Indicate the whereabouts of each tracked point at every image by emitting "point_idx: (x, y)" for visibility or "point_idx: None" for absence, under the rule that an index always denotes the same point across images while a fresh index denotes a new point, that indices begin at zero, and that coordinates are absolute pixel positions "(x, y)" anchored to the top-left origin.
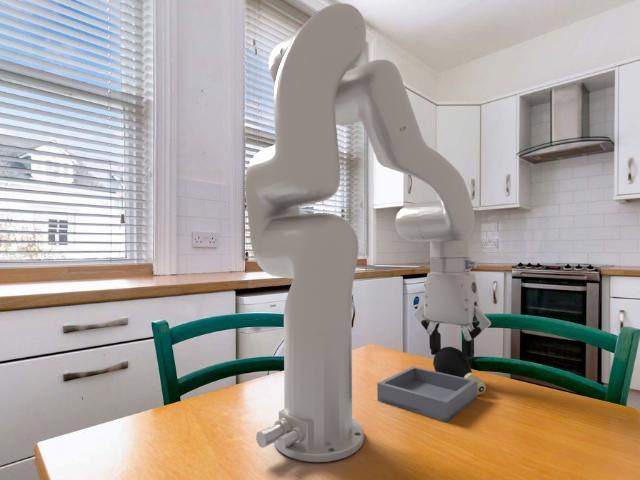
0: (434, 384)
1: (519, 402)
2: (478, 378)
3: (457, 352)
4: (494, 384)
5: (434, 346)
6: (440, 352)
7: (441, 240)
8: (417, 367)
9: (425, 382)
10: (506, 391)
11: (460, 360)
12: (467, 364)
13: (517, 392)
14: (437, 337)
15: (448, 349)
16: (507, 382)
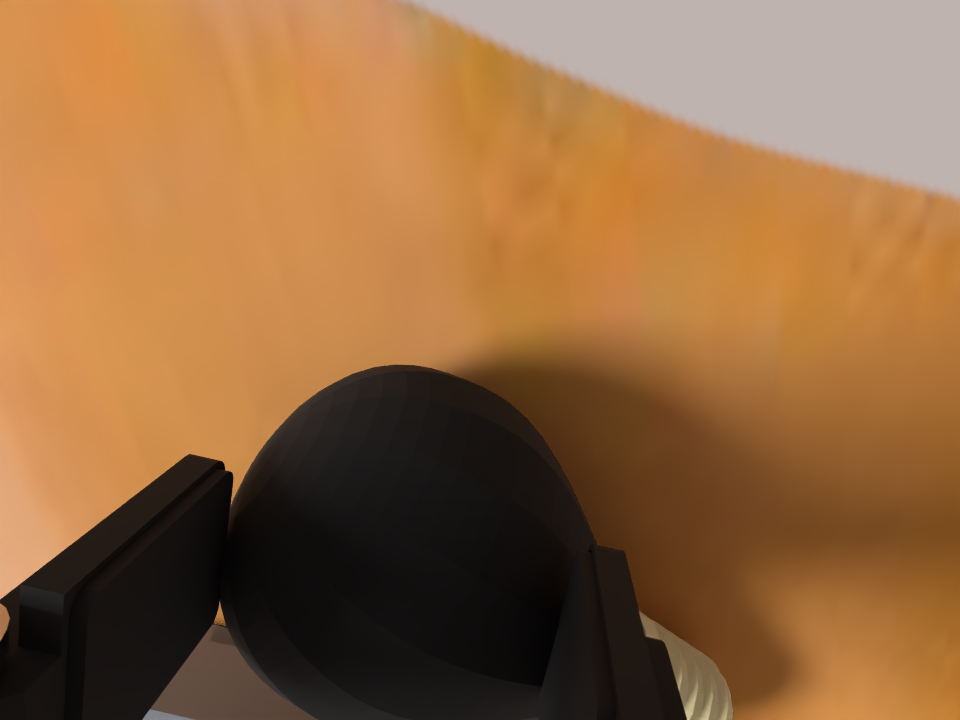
0: None
1: (940, 683)
2: (688, 718)
3: (468, 685)
4: (770, 397)
5: (167, 683)
6: (279, 693)
7: None
8: (168, 717)
9: None
10: (862, 515)
11: (520, 710)
12: None
13: (947, 498)
14: (109, 676)
15: (354, 702)
16: (882, 288)
